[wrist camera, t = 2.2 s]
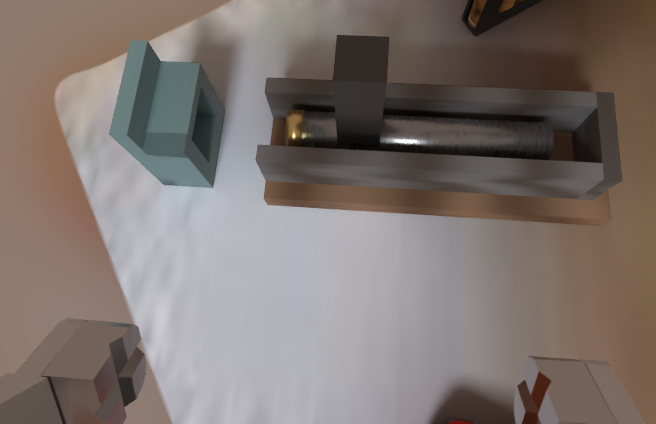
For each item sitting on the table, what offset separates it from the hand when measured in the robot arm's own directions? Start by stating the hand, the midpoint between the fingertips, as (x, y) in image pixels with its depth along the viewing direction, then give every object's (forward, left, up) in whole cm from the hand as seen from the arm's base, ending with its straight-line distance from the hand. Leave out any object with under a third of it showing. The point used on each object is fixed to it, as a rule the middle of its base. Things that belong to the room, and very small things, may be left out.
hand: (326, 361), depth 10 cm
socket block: (+12, -14, -21) cm, 27 cm away
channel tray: (-5, -14, -21) cm, 25 cm away
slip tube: (-4, -14, -19) cm, 23 cm away
